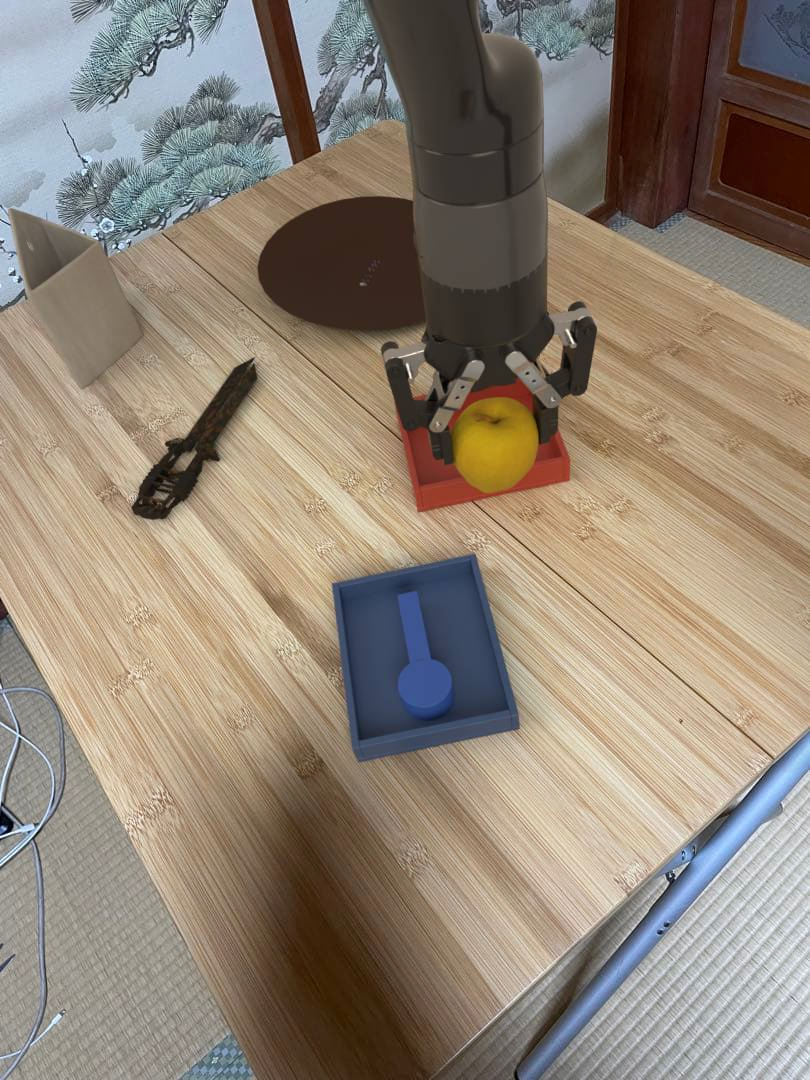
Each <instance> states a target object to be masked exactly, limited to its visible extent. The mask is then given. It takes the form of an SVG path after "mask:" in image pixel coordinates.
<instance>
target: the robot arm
mask: <svg viewBox="0 0 810 1080" xmlns="http://www.w3.org/2000/svg"><path fill="white" fill-rule="evenodd" d="M360 1H361V3H362V5H363V9H364V10H365V12H366V15H367V17H368V20H369V23H370V25H371V27H372V30H373V32H374V35H375V38H376V40H377V42H378V45H379V48H380V51H381V53H382V56H383V58H384V61H385V64H386V66H387V69H388V72H389V74H390V76H391V79H392V82H393V84H394V87H395V88H396V91H397V94H398V97H399V99H400V103H401V105H402V108H403V112H404V124H405V132H406V141H407V149H408V155H409V156H408V157H409V163H410V171H411V180H412V201H413V224H414V246H415V249H416V251H417V255H418V263H419V271H420V279H421V286H422V294H423V301H424V309H425V317H426V320H425V323H426V325H425V330H424V332H423V334H422V336H421V340H420V341H418V342H415V343H412V344H408V345H405V346H401V347H400V346H399V344H398V342H396V341H394V340H391V341H390V340H389V341H386V342H384V343H383V344H382V345H381V347H380V353H381V357H382V361H383V367H384V369H385V370H384V371H385V373H386V377H387V380H388V384H389V387H390V391H391V394H392V398H393V400H394V401H395V402H394V405H395V404H396V407H397V410H398V413H399V417H400V420H401V423H402V426H403V429H404V430H406V431H415V430H416V429H418V428H419V427H424V428H426V429H427V431H428V437H429V444H430V447H431V451H432V455H433V457H434V458H435V459H436V460H440V459H442V460H443V464H444V466H445V465H450V464H454V462H453V453H452V445H451V436H450V429H449V426H448V423H449V421H450V419H451V417H452V415H453V414H454V412H455V410H457V411H459V410H460V408H461V407H462V405H463V403H464V401H465V399H466V397H467V396H468V394H469V392H470V393H473V392H478V391H482V390H485V389H487V388H489V387H492V386H506V385H511V384H515V383H516V380H517V379H519V378H520V380H521V381H522V382H523V383H524V384H525V385H526V387H527V388H528V389H529V390H530V391H531V392H532V414H533V417H534V419H535V421H536V424H537V430H538V439H539V440H538V443H539V445H544V444H549V443H550V436H553V435H555V434H556V432H557V430H559V406H560V404H561V403H562V400H563V399H564V398H565V397H567V396H570V395H571V396H573V397H579V396H582V395H584V394H585V393H586V392H587V390H588V388H589V387H588V386H589V381H590V375H591V368H592V362H593V357H594V350H595V345H596V340H597V333H598V327H597V324H596V322H595V321H594V318H593V316H592V315H591V312H590V310H589V309H588V307H587V306H586V303H585V302H584V301H580V300H578V301H574V302H573V303H571V304H570V305H569V306H568V308H567V311H563V312H554V313H550V312H549V311H548V264H549V263H548V261H549V260H548V257H549V256H548V252H549V251H548V250H549V249H548V248H549V247H548V242H549V240H548V239H549V235H548V234H549V208H548V207H549V206H548V205H549V203H548V193H547V188H546V180H545V170H544V167H545V166H544V162H545V161H544V160H545V159H544V155H545V154H544V152H545V151H544V149H545V148H544V147H545V146H544V145H545V144H544V143H545V141H544V140H545V139H544V138H545V137H544V131H545V129H544V127H545V126H544V125H545V123H544V122H545V121H544V119H545V118H544V117H545V116H544V115H545V111H544V83H543V81H544V80H543V73H542V70H541V66H540V62H539V60H538V57H537V56H536V54H535V53H534V51H533V50H532V48H530V46H529V45H528V44H526V43H525V42H524V41H522V40H520V39H518V38H515V37H514V36H510V35H507V34H502V33H491V32H490V33H483V31H482V27H481V22H480V12H479V6H480V5H479V4H480V3H479V2H480V0H360ZM554 335H557V336H558V338H559V340H560V342H561V344H562V349H561V358H560V366H559V369H558V370H556V371H554V372H552V373H550V371H549V370H548V369H547V367H546V366H545V364H543V363H542V361H541V360H540V359H539V356H540V355H541V354H542V353H543V351H544V349H545V348H546V347H547V346H548V344H549V343H550V342H551V341H552V339H553V337H554ZM425 362H426V364H427V365H429V366H430V367H431V368H432V369H434V372H433V375H432V383H431V385H430V388H429V390H428V391H427V393H426V394H427V396H426V398H425V400H414V399H413V397H414V396H413V395H414V394H413V391H412V388H411V385H410V384H414V383H415V381H416V378H417V377H418V376H419V368H420V367H421V365H422V364H423V363H425ZM396 407H395V408H396Z"/></svg>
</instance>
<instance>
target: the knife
mask: <svg viewBox="0 0 810 1080" xmlns="http://www.w3.org/2000/svg"><path fill="white" fill-rule="evenodd" d="M255 359H256V356H254V357H252V358H250V359H248V360H247V361H244V362H243V363H240V364H239V365H237V366H235V367H234V368H233V369H232V370H231V371H230V373H229V374H228V376H227V377H226V379H225V380H224V381H223V383H222V384H221V386H220V387H219V389H218V390H217V392H216V393H215V394H214V396H213V397H212V398H211V400H210V401H209V403H208V404H207V406H206V407H205V408H204V410H203V411H202V413H201V415H200V416H199V417H198V419H197V420H196V422H195V423H194V424H193V426H192V427H191V428H190V430H189V431H188V433H187V434H186V436H185V437H184V438H183V437H182V438H181V437H176V438H172V439H169V440H166V441H165V442H164V446H165V447H167V448H166V449H167V453H166V454H164V455H163V456H162V457H161V459H160V460H159V462H158V463H156V464H153V465H152V467H151V468H150V471H148V472H147V474H146V475H145V477H144V478H143V479H142V483H141V484H140V485H139V486H138V492H137V498H136V500H135V501H134V502H133V504H132V505H131V511H132V513H133V515H134V516H139V517H140V518H142V519H148V520H152V521H153V520H165V519H167V518H168V516H169V515H170V513H171V512H172V510H173V509H174V508H175V507H177V505H179V504H180V503H182V502H185V501H186V499H188V497H189V495H190V494H191V493H192V491H193V490H194V488H195V487H196V485H197V483H198V482H199V480H198V477H199V476H200V474H201V473H202V471H203V463H204V462H209V461H212V462H218V463H219V462H220V461H221V459H220V456H219V455H218V452H217V450H216V448H215V446H214V445H215V443H216V442H217V440H218V439H219V437H220V436H221V434H222V433H223V431H224V430H225V428H226V427H227V426H228V424H229V422H230V420H231V419H232V417H233V416H234V414H235V413H236V411H237V410H238V409H239V407H240V406H241V404H242V402H244V400H245V399H246V397H247V395H248V394H249V392H250V391H251V389H252V387H253V386H254V385H255V383H256V382H257V380H258V374H257V370H256V365H255V362H254V361H255ZM243 376H244V377H243ZM216 415H217V416H216ZM215 417H216V418H215ZM211 423H212V424H211ZM193 450H195V452H196V453H195V455H194V456H193V458H192V459H191V461H190V462H189V464H188V465H187V467H186V468H185V470H179V471H176V470H174V469H173V467H174V466H175V464H177V461H178V460H179V459H180V457H181V456H182V454H183V453H192V452H193ZM173 456H174V457H173ZM176 479H177V481H175V480H176ZM164 481H165V482H167V483H165V482H164ZM161 487H162V488H161ZM165 488H166V489H165ZM169 489H171V490H169ZM156 492H158V493H164V494H167V496H166V498H164V499H160V498H155V497H153V496H154V495H155V493H156ZM160 504H161V505H160ZM168 504H169V506H168Z"/></svg>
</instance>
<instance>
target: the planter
mask: <svg viewBox="0 0 810 1080" xmlns="http://www.w3.org/2000/svg"><path fill="white" fill-rule="evenodd" d="M7 215H8V220H9V224H10V228H11V235H12V238H13V243H14V247H15V253H16V257H17V261H18V266H19V271H20V274H21V279H22V283H23V287H24V288H23V289H24V292H25V295H26V297H27V300H28V302H29V303H30V305H31V307H32V308H33V311H34V312H35V314H36V315H37V317H38V319H39V321H40V323H41V324H42V326H43V328H44V329H45V331H46V333H47V335H48V336H49V337H50V340H51V342H52V344H53V345H54V347H55V348H56V350H57V353H58V354H59V356H60V357H61V359H62V361H63V363H64V364H65V367H66V368H67V369H68V371H69V373H70V375H71V376H72V378H73V380H74V381H75V383H76V385H77V387H78V388H79V389H80V390H83V389H85V388H86V387H88V386H89V385H90V384H91V383H92V382H94V381H95V380H96V379H97V378H99V377H100V376H101V375H102V374H103V373H104V372H105V371H107V370H108V369H109V368H110V367H111V366H113V365H114V364H115V363H116V362H117V361H118V360H119V359H120V358H121V357H123V356H124V355H125V354H127V352H128V351H129V350H131V349H132V347H133V346H134V345H136V343H137V342H138V341H140V340H141V338H143V336H144V333H143V331H142V329H141V326H140V324H139V321H138V320H137V318H136V316H135V314H134V311H133V309H132V307H131V305H130V303H129V300H128V299H127V296H126V294H125V293H124V290H123V288H122V286H121V284H120V281H119V280H118V277H117V275H116V273H115V271H114V268H113V266H112V265H111V261H110V259H109V258H108V255H107V254H106V251H105V249H104V247H103V245H102V243H101V241H100V240H99V239H96V238H94V237H92V236H90V235H88V234H85V233H83V232H80V231H77V230H76V229H72V228H70V227H66V226H64V225H60V224H58V223H55V222H53V221H49V220H47V219H44V218H42V217H40V216H36V215H33V214H31V213H28V212H25V211H22V210H19V209H16V208H14V207H13V208H12V207H9V208H8V209H7Z"/></svg>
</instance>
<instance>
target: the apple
mask: <svg viewBox="0 0 810 1080" xmlns="http://www.w3.org/2000/svg"><path fill="white" fill-rule="evenodd" d="M450 436H451V445H452V453H453V462H454V465H455V467H456V468H457V470H458V471H459V472H460V474H461V475H462V476H463V477H464V478H465V479H466V481H467V482H468V483H469V484H470V485H472V486H474V487H475V488H477V489H479V490H480V491H482V492H485V493H493V492H497V491H501V490H506V489H509V488H511V487H513V486H514V485H516V484H517V483H518V482H519V481H520V480H521V479H522V478H523V477H524V476H525V475H526V474H527V473H528V472H529V470H530V469H531V468H532V466H533V464H534V461H535V458H536V455H537V450H538V440H539V439H538V430H537V424H536V421H535V419H534V417H533V415H532V413H531V412H530V410H529V409H528V408H527V407H525V406H524V405H523V404H521V403H519V402H518V401H516V400H514V399H511V398H506V397H496V398H488V399H483V400H479V401H477V402H474V403H473V404H471V405H470V406H468V407H467V408H466V409H465V410H464V411H463V413H462V414H461V415H460V417H459V418H458V420H457V421H456V423H455V424H454V426H453V428H452V430H451V434H450Z"/></svg>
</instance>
